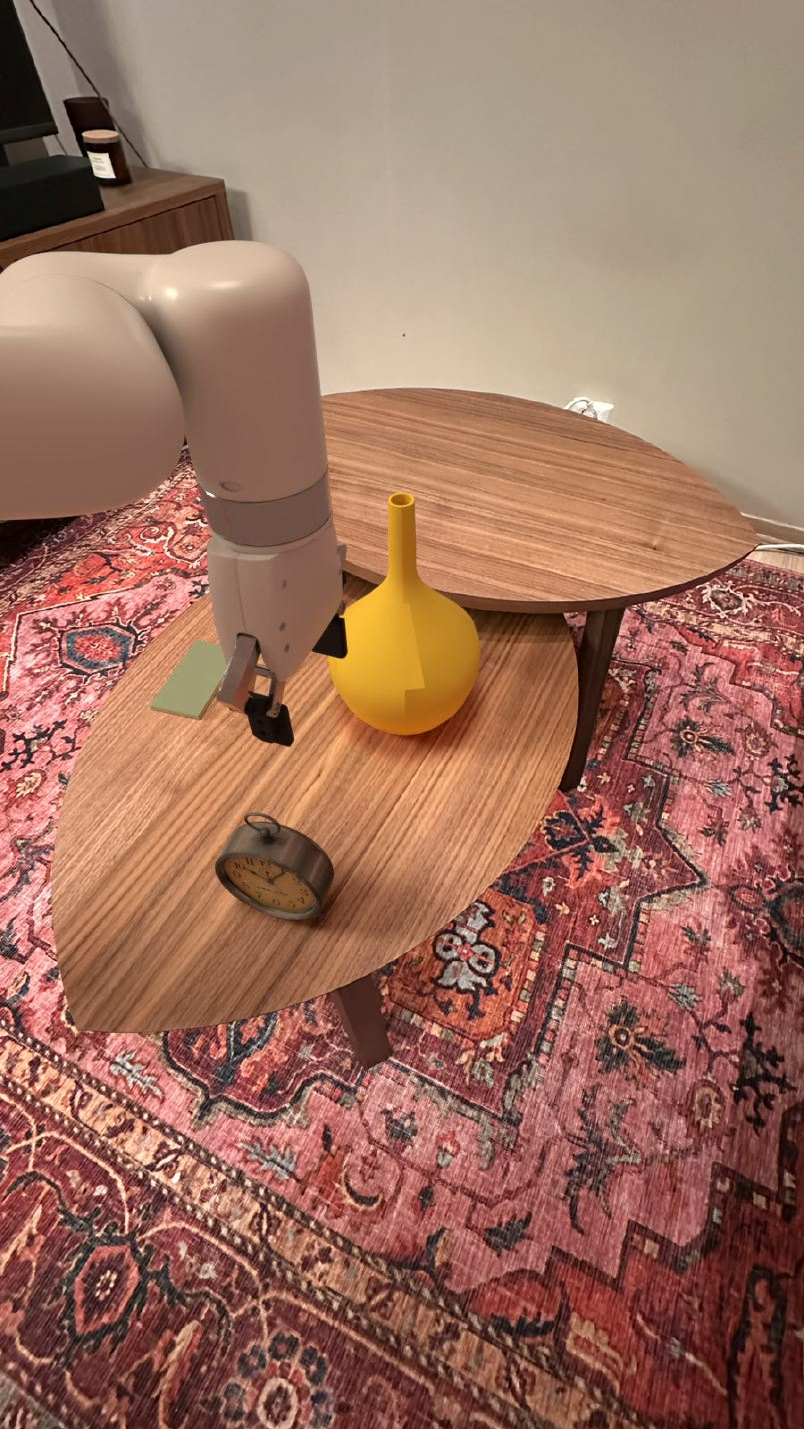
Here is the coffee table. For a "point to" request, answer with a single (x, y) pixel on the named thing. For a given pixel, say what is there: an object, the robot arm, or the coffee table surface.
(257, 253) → the robot arm
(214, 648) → the green rectangular slab
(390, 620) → the vase
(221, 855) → the alarm clock
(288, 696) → the coffee table surface
